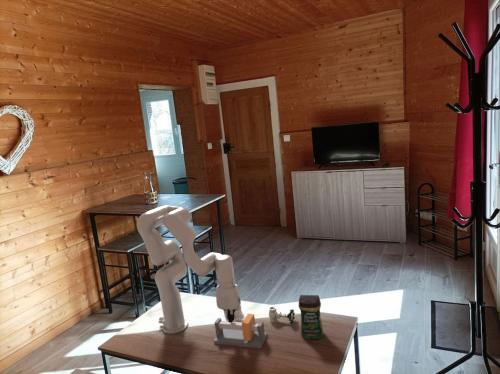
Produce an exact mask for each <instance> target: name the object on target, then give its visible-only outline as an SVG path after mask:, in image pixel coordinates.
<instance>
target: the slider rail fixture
mask: <svg viewBox="0 0 500 374" xmlns="http://www.w3.org/2000/svg"><path fill="white" fill-rule="evenodd" d="M242 322H243V321H241V322H240V321H233V322H232V323H231V322H230V323H229V322H228V320H222V318H221V317H218V318H217V319H216V320H215V321H214V328H215V329H214V330H215V335H216V336H215V338H214V339H213V344H215V345H222V346H225V345H226V346H232V347H233V346H235V347H245V348H251V349H252V348H255V349H261V348H262V346H263V344H264V343H265V341H266V339H267V337H268V332H267V331H265V323H264V321H262V320H260V321H259V322H258V323H256V322H255V323H252V324H251V331H255V333H254V335H253V337H252V338H251V340H250V341H248V340H244V338H243V330H242Z"/></svg>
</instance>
